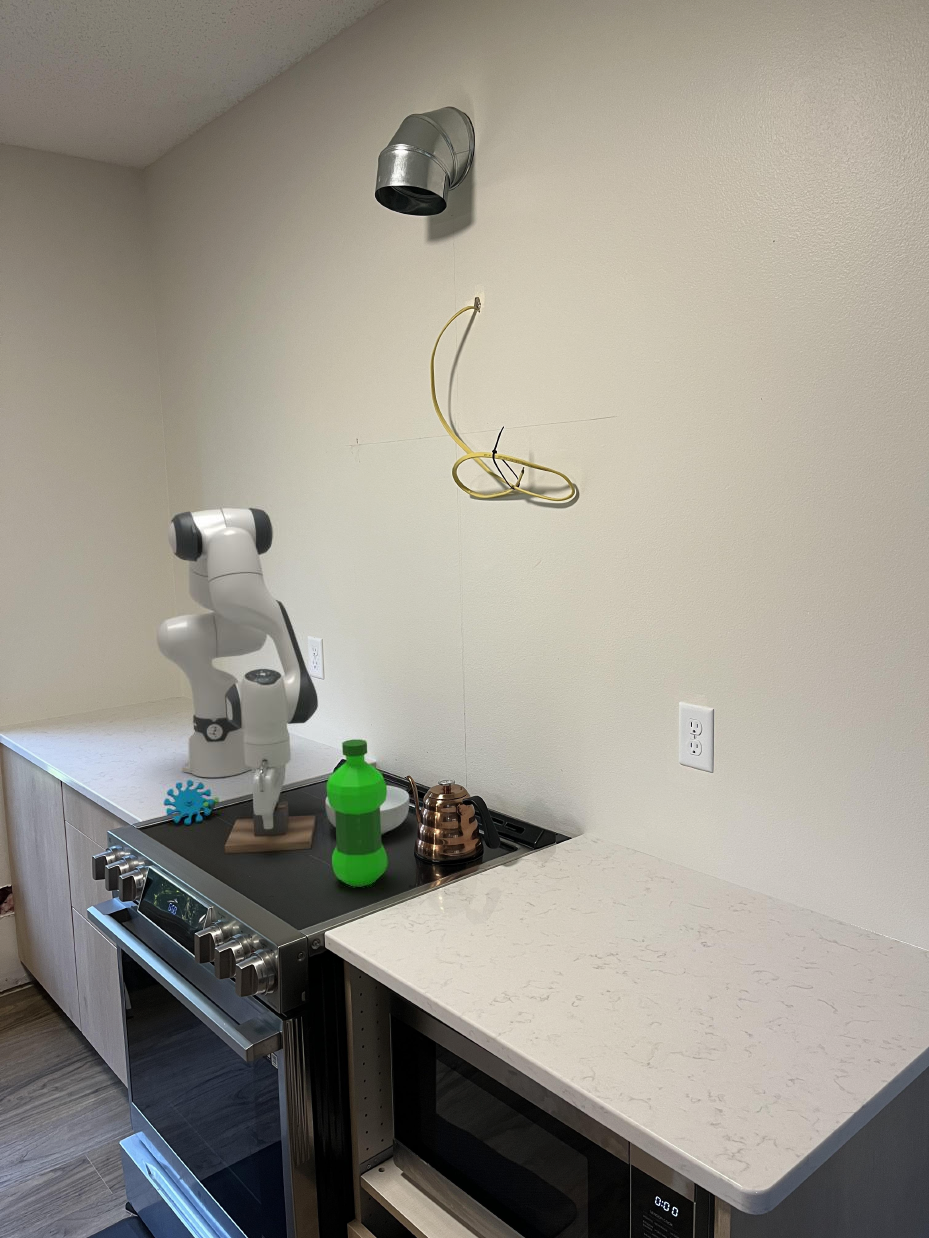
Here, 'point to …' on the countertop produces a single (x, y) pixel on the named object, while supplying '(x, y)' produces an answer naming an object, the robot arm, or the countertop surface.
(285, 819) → the gray open-top tub
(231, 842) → the shaft base
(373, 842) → the plastic bottle
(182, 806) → the gear
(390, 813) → the cereal bowl
